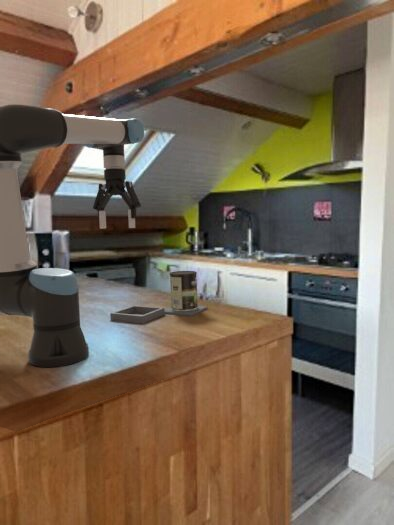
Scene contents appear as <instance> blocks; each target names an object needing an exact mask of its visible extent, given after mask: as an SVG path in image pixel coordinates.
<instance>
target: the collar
mask: <svg viewBox="0 0 394 525" xmlns="http://www.w3.org/2000/svg"><path fill="white" fill-rule="evenodd" d="M164 310H165V307H157V306H143V305H130V306H128V307H125V308H122V309H118V310H115V311H113V312H110V317H109V318H110V321H116V322H117V321H118V322H126V323H135V324H145V323H147V322H150V321H152V320H155V319H157V318H160V317H163V316H164V315H165V311H164ZM134 313H135V314H134ZM139 314H142V315H139Z"/></svg>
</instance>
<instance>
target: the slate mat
mask: <svg viewBox="0 0 394 525" xmlns="http://www.w3.org/2000/svg"><path fill="white" fill-rule="evenodd" d="M207 309H208V306H207V305H206V306H205V305H198V309H196V310H193V311H185V312H179V311H173V310H171V307H168V308H164V311H165V314H166V315H167V314H168V315H176V316H177V315H178V316H187V317H192V316H195V315H196V314H199V313H201V312H203V311H206V310H207Z"/></svg>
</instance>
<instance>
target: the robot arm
mask: <svg viewBox="0 0 394 525" xmlns="http://www.w3.org/2000/svg"><path fill="white" fill-rule="evenodd" d="M144 139H145V127H144V124H143V122H142V121H141V120H140V119H138V118H128V119H116V118H108V117H107V118H106V117H96V116H88V115H86V116H85V115H79V114H78V115H77V114H76V115H75V114H69V113H67V114H66V113H65V114H64V113H63V112H61V111H60V110H59V109H55V108H48V107H41V106H35V105H26V104H17V103H16V104H6V105H3V106H0V313H1V314H5V315H8V316H21V317H29V318H32V325H33V333H32V334H33V335H32V338H31V343H30V348H29V350H28V354H27V355H28V363H29V364H30V365H32V366H34V367H41V368H53V367H54V368H55V367H57V368H58V367H64V366H68V365H72V364H75V363H78V362H81V361H83V360H85V359H86V358H88V356H89V354H90V351H89V350H90V349H89V344H88V342H86V337H85V335H84V333H83V330H82V327H81V319H80V318H81V315H80V296H79V295H80V294H79V293H80V292H79V290H80V289H79V284H78V278H77V275H76V273H75V272H74V271H72V270H70V269H66V268H61V267H60V268H59V267H58V268H57V267H54V268H53V267H42V268H38V265H37V263H36V262H35V261H34V260H32V259H31V258H30V252H29V244H28V243H29V242H28V236H27V230H26V223H25V215H24V211H23V210H24V209H23V204H22V196H21V191H20V189H21V188H20V183H19V178H18V177H19V175H18V169H19V168H20V166H21V165H22V164H23V161H22V154H27V153H30V152H36V151H38V150H44V149H49V148H54V149H55V148H59V147H62V146H63V145H65V144H67V145H69V144H70V145H77V144H78V145H79V144H80V145H81V146H83V147H86V148H88V149H95V150H96V149H97V150H99V151H100V150H101V151H102V154H103V155H102V157H103V158H102V159H103V169H104V170H103V177H104V178H103V179H104V181H105V183H99V184H98V189H97V193H96V197H95V200H94V202H93V206H92V209H93V210H96V211H97V218H98V221H99V229H102V230H103V229H107V213H106V209H105V208H106V206H107V205H108V203H109V201H110V199H111V198H112V197H113V196H120V197H121V198H122V199H123V201H124V203H125V204H126V205H127V206H128V207H129V208H128V209H127V216H128V229H136V219H137V209H138V208H141V206H142V205H141V202H140V200H139V198H138V195H137V194H136V191H135V189H134V184H133V182H132V181H129V180H126V177H127V176H126V170H125V168H126V160H125V159H126V158H125V157H126V156H125V145H132V144H133V145H134V144H137V143H141V142H143V141H144ZM125 180H126V181H125ZM125 188H126V189H125Z"/></svg>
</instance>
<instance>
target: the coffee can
mask: <svg viewBox="0 0 394 525" xmlns="http://www.w3.org/2000/svg"><path fill="white" fill-rule="evenodd" d="M197 274H198V272H197V271H195V270H180V271H179V270H177V271H171V272H169V281H170V282H169V283H170V284H169V285H170V300H171V301H170V304H171V310H173V311H179V312H185V311H193V310H196V309H198V306H199V305H198V288H197V287H198V285H197V284H198V283H197V280H198V278H197Z"/></svg>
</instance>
